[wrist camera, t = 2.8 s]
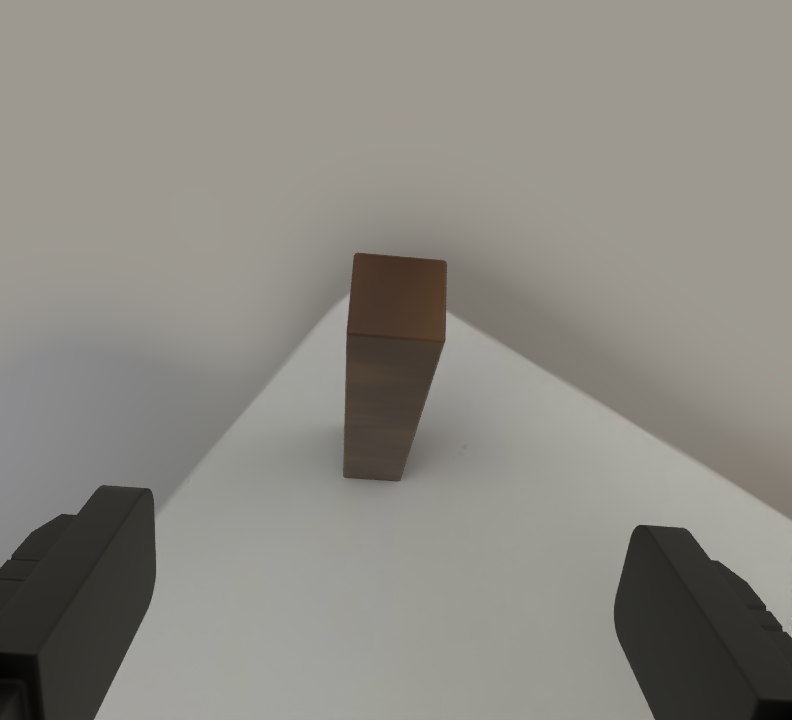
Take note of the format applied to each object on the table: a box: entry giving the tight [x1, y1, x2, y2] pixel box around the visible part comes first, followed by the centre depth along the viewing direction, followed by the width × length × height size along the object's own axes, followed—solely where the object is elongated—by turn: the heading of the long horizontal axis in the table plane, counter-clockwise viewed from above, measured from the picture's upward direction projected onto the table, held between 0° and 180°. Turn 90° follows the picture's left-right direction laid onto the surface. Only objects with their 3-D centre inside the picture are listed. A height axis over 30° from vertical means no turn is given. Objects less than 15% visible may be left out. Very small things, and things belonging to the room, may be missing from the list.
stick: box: [343, 253, 447, 481], centre depth 22 cm, size 2×2×13 cm
